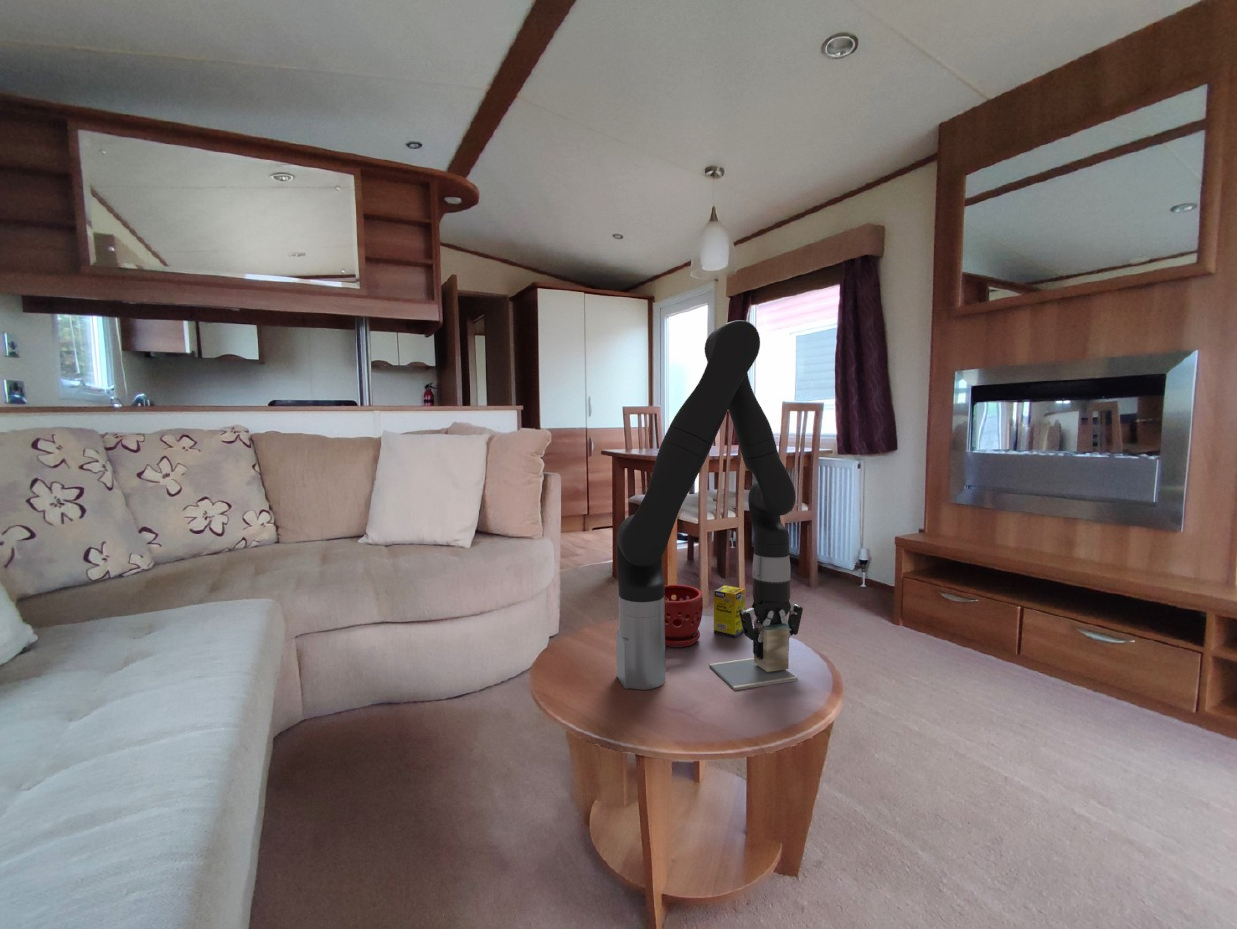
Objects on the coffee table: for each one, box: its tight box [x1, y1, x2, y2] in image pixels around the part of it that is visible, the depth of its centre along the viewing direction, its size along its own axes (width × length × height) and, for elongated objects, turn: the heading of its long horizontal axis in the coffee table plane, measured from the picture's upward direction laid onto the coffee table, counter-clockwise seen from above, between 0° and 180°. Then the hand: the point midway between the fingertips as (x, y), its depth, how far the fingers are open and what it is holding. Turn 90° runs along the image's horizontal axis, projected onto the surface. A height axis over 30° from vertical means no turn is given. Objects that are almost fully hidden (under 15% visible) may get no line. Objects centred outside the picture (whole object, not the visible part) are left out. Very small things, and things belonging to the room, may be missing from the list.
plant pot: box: [664, 584, 704, 648], centre depth 124 cm, size 13×13×12 cm
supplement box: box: [713, 584, 746, 638], centre depth 129 cm, size 6×6×11 cm
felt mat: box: [708, 657, 799, 691], centre depth 106 cm, size 14×11×1 cm
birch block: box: [753, 619, 790, 672], centre depth 107 cm, size 5×5×9 cm
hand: (771, 656), depth 107 cm, fingers closed on birch block, 5 cm apart
